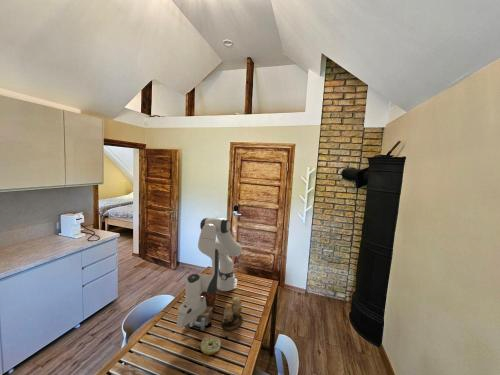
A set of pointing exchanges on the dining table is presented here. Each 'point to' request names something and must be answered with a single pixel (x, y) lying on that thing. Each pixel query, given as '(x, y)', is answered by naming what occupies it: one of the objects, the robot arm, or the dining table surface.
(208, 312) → the tan boxy piece
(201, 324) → the lever handle with knob
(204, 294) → the wooden figurine
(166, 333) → the dining table surface
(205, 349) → the decorated donut
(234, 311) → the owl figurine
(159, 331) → the dining table surface
